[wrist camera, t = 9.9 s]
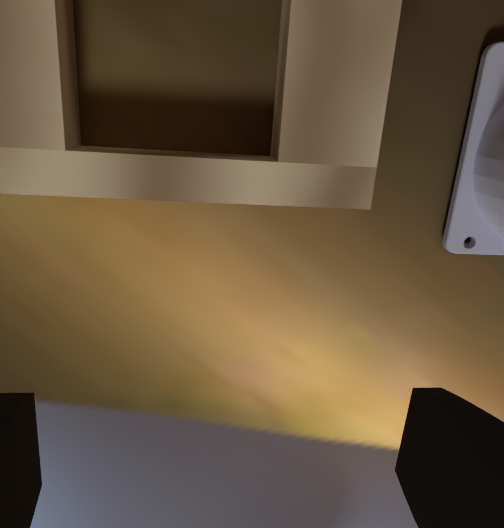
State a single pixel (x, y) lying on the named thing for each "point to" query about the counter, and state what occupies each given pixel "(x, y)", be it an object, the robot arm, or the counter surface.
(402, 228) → the counter surface
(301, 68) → the holder board
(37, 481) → the robot arm
